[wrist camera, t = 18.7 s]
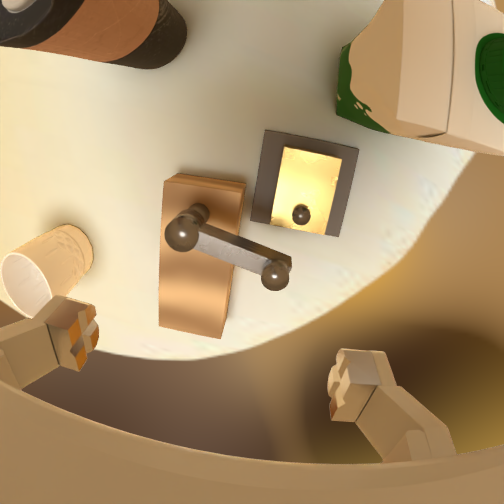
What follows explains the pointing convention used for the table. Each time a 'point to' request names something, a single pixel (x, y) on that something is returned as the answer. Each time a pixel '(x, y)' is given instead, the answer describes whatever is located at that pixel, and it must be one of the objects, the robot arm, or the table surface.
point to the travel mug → (96, 29)
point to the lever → (228, 248)
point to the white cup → (45, 268)
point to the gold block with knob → (305, 189)
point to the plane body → (197, 256)
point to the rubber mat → (270, 172)
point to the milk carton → (428, 74)
